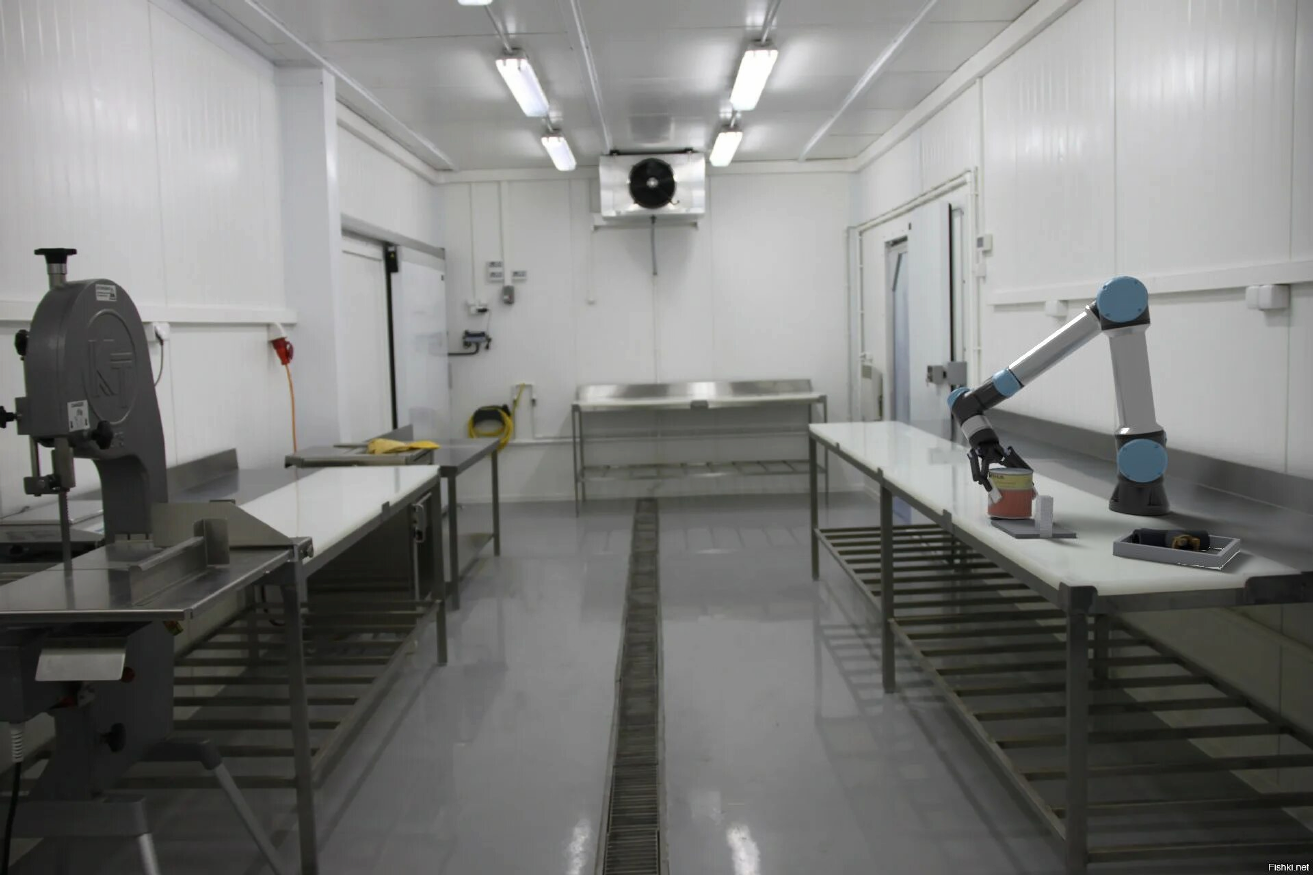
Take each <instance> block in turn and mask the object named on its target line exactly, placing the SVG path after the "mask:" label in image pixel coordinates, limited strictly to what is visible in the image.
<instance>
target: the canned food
mask: <svg viewBox="0 0 1313 875" xmlns="http://www.w3.org/2000/svg"><path fill="white" fill-rule="evenodd" d="M1033 471H1034V470H1033ZM1033 471H1032V470H1029V469H1022V468H1006V467H993V468H989V472H988V478H992V480H993V482H994V484H995V485H996V487H997V489H998V491H999V492H1000V494H1001V496H1002V498H1001V499H1000V501H999V502H998V503H994V501H993V499H992V497H991V495H990V494H989V492H987V512H986V513H987V515H988V516H990V517H994V518H1001V519H1009V520H1012V519H1014V520H1020V519H1022V520H1023V519H1029V518H1031V517H1032V516H1033V512H1032V511H1033V500H1032V486H1033V483H1034V480H1033V477H1034V474H1033V473H1034V472H1033ZM988 478H987V479H988Z"/></svg>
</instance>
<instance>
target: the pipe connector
mask: <svg viewBox="0 0 1313 875" xmlns="http://www.w3.org/2000/svg"><path fill="white" fill-rule="evenodd" d="M1134 529H1135V530H1134ZM1134 529H1133V530H1134V531H1133V533H1132V543H1133V544H1141V545H1148V546H1155V547H1163V548H1170V549H1177V550H1185V551H1192V552H1199V551H1198V550H1207V551H1209V550H1210V549H1209V547H1210V537H1209V535H1210V534H1209V533H1208V532H1209V531H1207V530H1206V529H1163V528H1156V529H1136V528H1134Z"/></svg>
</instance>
